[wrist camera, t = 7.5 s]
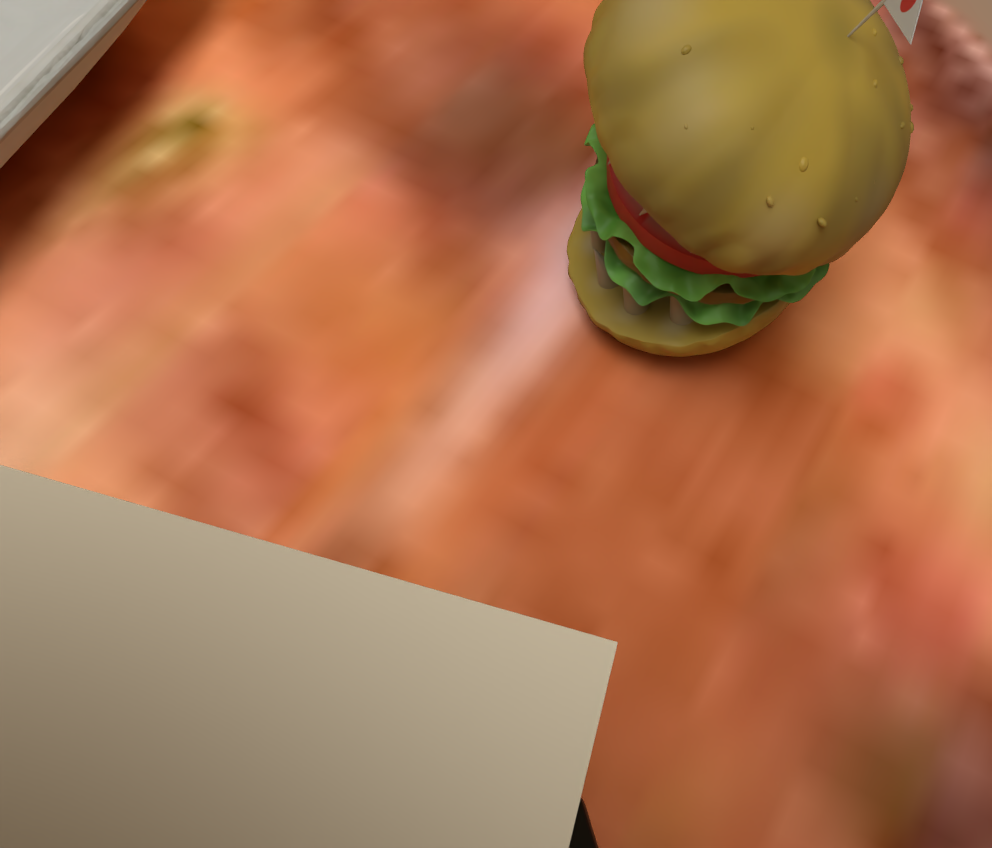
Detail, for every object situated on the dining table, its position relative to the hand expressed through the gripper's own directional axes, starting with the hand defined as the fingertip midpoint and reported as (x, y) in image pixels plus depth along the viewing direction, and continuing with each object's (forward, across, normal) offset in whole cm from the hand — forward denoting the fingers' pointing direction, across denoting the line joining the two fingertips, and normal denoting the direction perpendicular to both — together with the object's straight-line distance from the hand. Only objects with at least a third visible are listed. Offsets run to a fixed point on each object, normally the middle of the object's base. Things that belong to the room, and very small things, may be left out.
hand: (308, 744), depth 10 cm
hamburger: (+20, -4, 0) cm, 20 cm away
